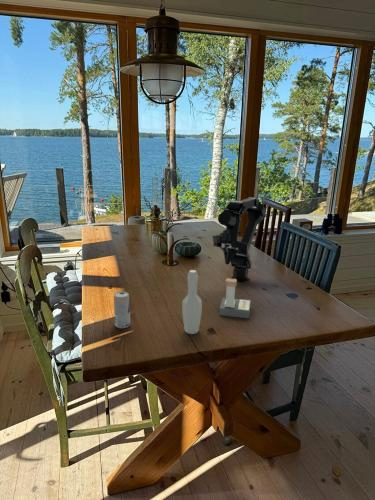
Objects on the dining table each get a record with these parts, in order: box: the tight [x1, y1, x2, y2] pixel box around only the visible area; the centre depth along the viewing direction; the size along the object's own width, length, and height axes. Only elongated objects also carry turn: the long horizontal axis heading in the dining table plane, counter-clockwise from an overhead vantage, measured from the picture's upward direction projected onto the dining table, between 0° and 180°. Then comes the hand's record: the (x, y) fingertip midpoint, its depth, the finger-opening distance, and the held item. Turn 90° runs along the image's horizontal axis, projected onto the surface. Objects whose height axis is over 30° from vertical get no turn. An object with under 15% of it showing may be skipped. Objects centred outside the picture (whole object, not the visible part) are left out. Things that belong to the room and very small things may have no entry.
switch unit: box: [218, 297, 252, 319], centre depth 140 cm, size 10×11×3 cm
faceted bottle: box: [181, 269, 203, 335], centre depth 122 cm, size 6×6×22 cm
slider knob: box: [224, 277, 238, 308], centre depth 136 cm, size 4×4×10 cm
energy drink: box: [113, 290, 131, 329], centre depth 126 cm, size 5×5×12 cm
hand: (226, 264), depth 156 cm, fingers closed
